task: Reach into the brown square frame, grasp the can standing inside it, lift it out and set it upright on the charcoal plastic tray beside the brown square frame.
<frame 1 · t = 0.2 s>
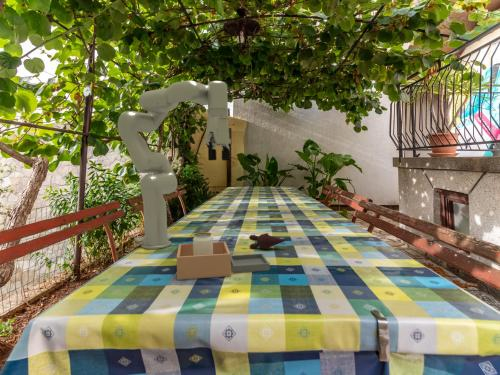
hand: (219, 160, 122), 37 cm above the table, tool pointing down, fingers open, 9 cm apart
tray: (248, 265, 110), on the table
can: (203, 269, 107), resting in brown square frame
brown square frame: (203, 269, 107), on the table
icecream: (266, 249, 131), on the table
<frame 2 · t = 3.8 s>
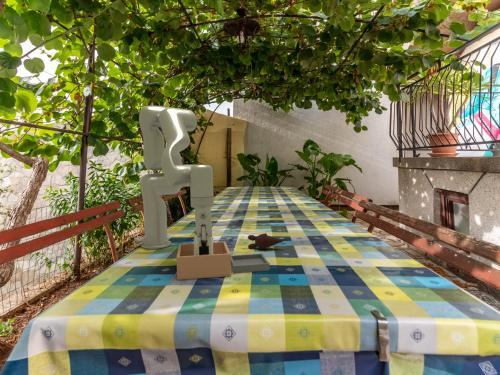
hand: (204, 255, 106), 5 cm above the table, tool pointing down, fingers closed on can, 4 cm apart
can: (203, 269, 107), resting in brown square frame, touching gripper
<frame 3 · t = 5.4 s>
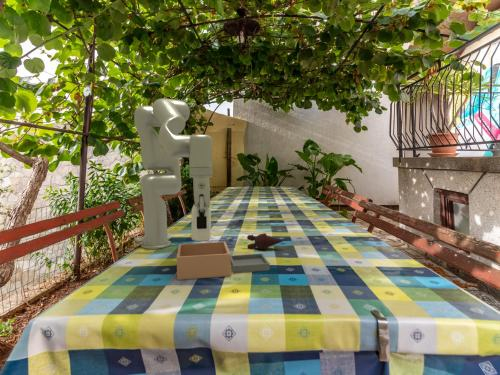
hand: (201, 226, 107), 15 cm above the table, tool pointing down, fingers closed on can, 4 cm apart
can: (200, 239, 108), point 10 cm above the table, touching gripper
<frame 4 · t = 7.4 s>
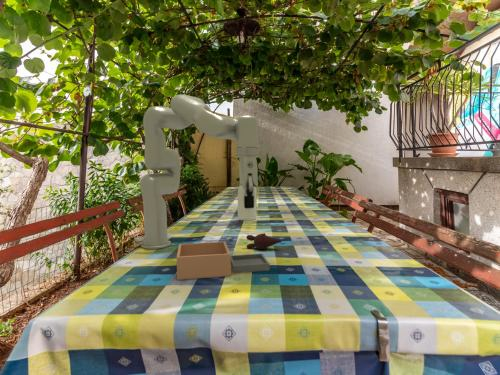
hand: (247, 206, 108), 21 cm above the table, tool pointing down, fingers closed on can, 4 cm apart
can: (247, 220, 109), point 16 cm above the table, touching gripper
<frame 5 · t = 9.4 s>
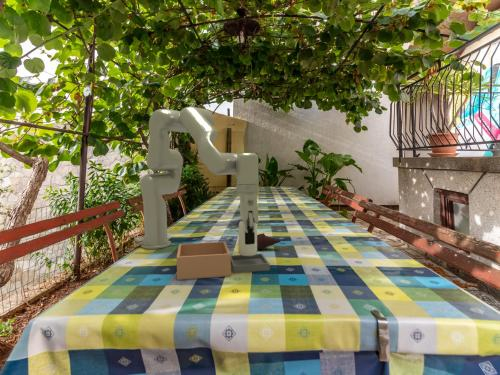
hand: (248, 241, 109), 9 cm above the table, tool pointing down, fingers closed on can, 4 cm apart
can: (247, 254, 110), point 4 cm above the table, touching gripper
when the fingers open (7 cm above the table, at t = 10.7 s): can drops 1 cm, resting on tray.
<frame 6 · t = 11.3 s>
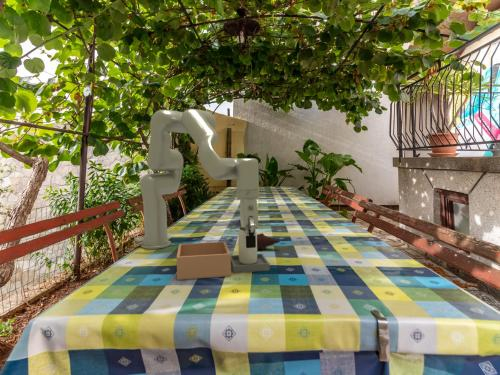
hand: (248, 243, 109), 8 cm above the table, tool pointing down, fingers open, 9 cm apart
can: (248, 262, 112), point 1 cm above the table, touching gripper, tray
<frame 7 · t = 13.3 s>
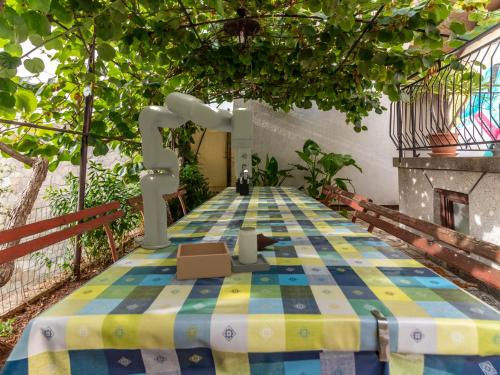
hand: (242, 194, 111), 25 cm above the table, tool pointing down, fingers open, 9 cm apart
can: (248, 262, 112), point 1 cm above the table, touching tray
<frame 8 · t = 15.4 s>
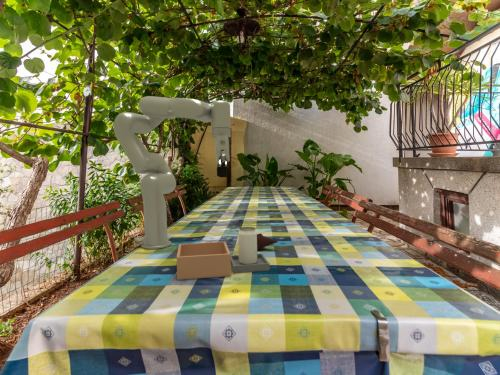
hand: (221, 176, 126), 30 cm above the table, tool pointing down, fingers open, 9 cm apart
at the end: can 1.8 cm off-centre on the tray, point 0.6 cm above the tray's base; can tilted 0°; the gripper is holding nothing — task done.
